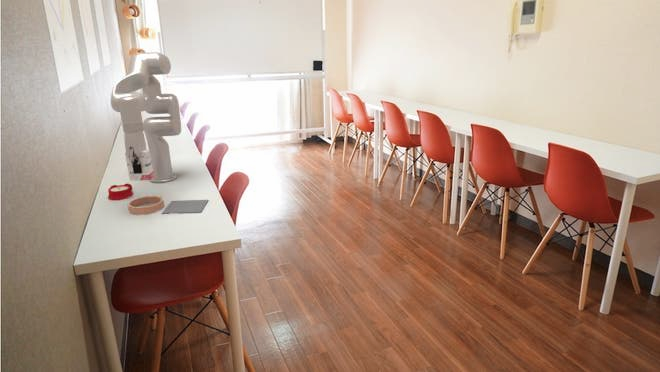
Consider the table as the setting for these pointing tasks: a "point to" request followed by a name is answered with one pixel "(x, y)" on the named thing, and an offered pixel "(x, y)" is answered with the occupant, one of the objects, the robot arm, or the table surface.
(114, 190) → the alarm clock
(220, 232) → the table surface
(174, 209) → the mat
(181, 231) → the table surface
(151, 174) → the ink box
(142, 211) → the copper faceted ring
